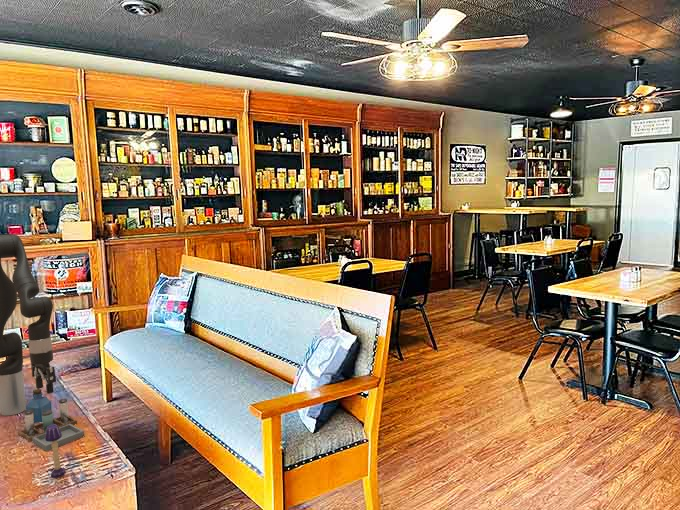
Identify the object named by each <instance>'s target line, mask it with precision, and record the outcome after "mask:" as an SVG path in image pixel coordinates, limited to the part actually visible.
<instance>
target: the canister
mask: <svg viewBox="0 0 680 510" xmlns="http://www.w3.org/2000/svg"><path fill="white" fill-rule="evenodd" d="M58 403H59V404H58V405H59V413H60V414H59V417H61V421H60V422H62V423H64V424H66V423H69V422H70V421H69V417H70V416H69V408H68V407H69V406H68V399H67V398H61V399H60V398H59V400H58Z"/></svg>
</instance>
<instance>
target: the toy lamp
mask: <svg viewBox="0 0 680 510" xmlns="http://www.w3.org/2000/svg"><path fill="white" fill-rule="evenodd" d="M61 437H62V434H61V432H60V430H59V427H58V425H56V424H53V425H50V426H48V427H47V431H46V437H45V440H46V441H48V442H51V443H52V450H51V451H52V456H53V457H52V458H53V465H54V469H52V471H51V473H50V477H51V478H53V479H54V478H56V479H57V478H61V477H63V476H64V475H66V473H67V471H66V469H65V468H64V467H62V466H61V460H60V452H59V447H58V443H57V440H58V439H60V438H61Z"/></svg>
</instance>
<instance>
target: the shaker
mask: <svg viewBox="0 0 680 510" xmlns="http://www.w3.org/2000/svg"><path fill="white" fill-rule="evenodd" d="M53 419H54V415H53V410H46V411H43V412H42V422H41V423H42V424H43V427H42V432H44V431H47V427H48V426H50V425H54V423H53Z"/></svg>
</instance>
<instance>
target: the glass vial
mask: <svg viewBox="0 0 680 510" xmlns="http://www.w3.org/2000/svg"><path fill="white" fill-rule="evenodd" d="M23 414H24V415H23V416H24V422H25V423H24V424H25V429H26V435H27V436H29V437H31V436H34V435H36V433H35V422H34V416H33V410H27V411H26V410H25V411H23Z"/></svg>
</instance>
